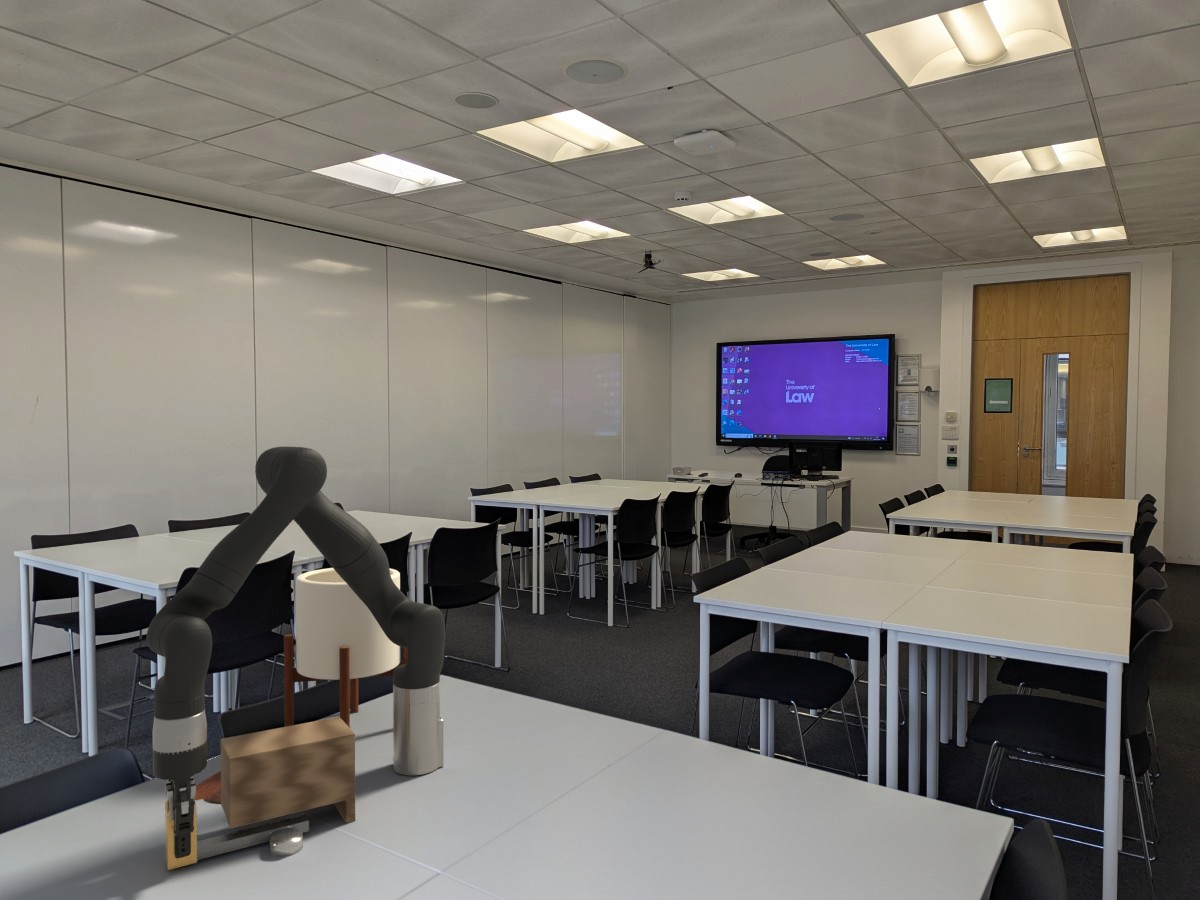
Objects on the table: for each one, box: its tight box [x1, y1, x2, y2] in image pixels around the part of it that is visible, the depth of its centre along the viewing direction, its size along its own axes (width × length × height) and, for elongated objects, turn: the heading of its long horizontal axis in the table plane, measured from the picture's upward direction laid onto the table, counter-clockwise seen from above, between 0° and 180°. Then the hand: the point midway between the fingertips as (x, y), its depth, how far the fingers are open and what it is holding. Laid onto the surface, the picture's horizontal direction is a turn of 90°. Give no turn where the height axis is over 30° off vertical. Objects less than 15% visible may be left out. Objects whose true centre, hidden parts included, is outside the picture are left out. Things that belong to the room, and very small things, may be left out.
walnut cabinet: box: [220, 716, 356, 830], centre depth 138 cm, size 20×10×15 cm, turn 123°
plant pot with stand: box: [283, 567, 408, 729], centre depth 181 cm, size 22×22×36 cm
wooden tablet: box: [194, 770, 221, 804], centre depth 160 cm, size 27×10×2 cm, turn 169°
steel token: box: [269, 830, 304, 858], centre depth 130 cm, size 5×5×2 cm
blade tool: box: [164, 800, 310, 871], centre depth 130 cm, size 21×4×9 cm, turn 123°
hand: (181, 849), depth 125 cm, fingers closed on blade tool, 4 cm apart
